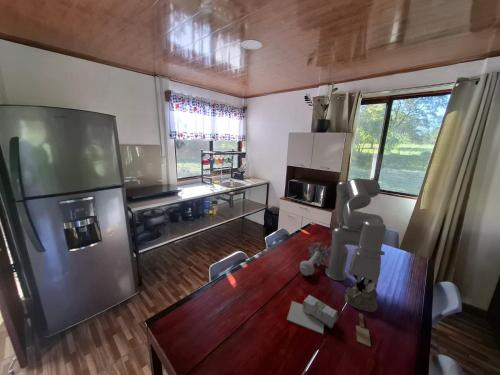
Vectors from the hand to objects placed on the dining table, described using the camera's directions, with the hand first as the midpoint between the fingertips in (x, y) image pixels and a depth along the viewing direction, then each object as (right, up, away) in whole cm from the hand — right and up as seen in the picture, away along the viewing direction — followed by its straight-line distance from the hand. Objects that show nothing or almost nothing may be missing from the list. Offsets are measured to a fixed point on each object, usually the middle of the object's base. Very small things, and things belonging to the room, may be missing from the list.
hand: (359, 289), depth 85 cm
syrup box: (-7, -17, +7) cm, 20 cm away
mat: (-19, -19, +12) cm, 29 cm away
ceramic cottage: (+14, -18, +25) cm, 34 cm away
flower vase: (-4, -11, +49) cm, 51 cm away
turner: (+5, -22, +6) cm, 23 cm away
